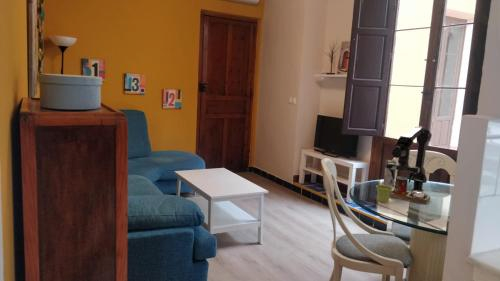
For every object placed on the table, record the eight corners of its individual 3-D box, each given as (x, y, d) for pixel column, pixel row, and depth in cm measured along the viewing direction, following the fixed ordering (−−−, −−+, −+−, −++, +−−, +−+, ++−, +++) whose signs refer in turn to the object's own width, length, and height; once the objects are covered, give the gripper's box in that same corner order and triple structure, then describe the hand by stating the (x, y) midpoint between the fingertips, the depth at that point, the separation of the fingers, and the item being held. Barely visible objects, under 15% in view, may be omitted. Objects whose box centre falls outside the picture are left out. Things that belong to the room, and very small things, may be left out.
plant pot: (390, 200, 239) (392, 186, 238) (392, 204, 230) (393, 189, 229) (374, 198, 242) (375, 184, 240) (374, 202, 233) (376, 187, 231)
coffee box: (383, 181, 286) (385, 159, 284) (392, 182, 285) (395, 160, 282) (384, 184, 277) (387, 161, 275) (394, 185, 276) (397, 162, 273)
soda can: (391, 195, 250) (393, 176, 248) (399, 194, 253) (401, 175, 251) (400, 198, 244) (402, 178, 242) (408, 197, 247) (410, 178, 245)
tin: (413, 197, 247) (414, 190, 246) (424, 200, 244) (425, 192, 243) (410, 200, 242) (411, 192, 241) (422, 202, 238) (423, 194, 238)
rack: (392, 192, 256) (393, 188, 256) (429, 199, 244) (430, 195, 244) (387, 196, 247) (387, 192, 247) (425, 204, 235) (426, 199, 234)
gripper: (384, 155, 243) (382, 180, 246) (417, 160, 233) (414, 186, 235) (389, 153, 252) (387, 177, 255) (421, 158, 242) (418, 183, 244)
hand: (401, 181), depth 247 cm, fingers open, 9 cm apart
